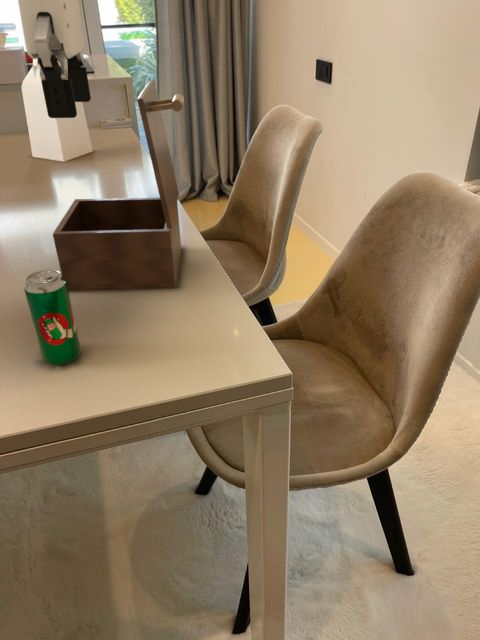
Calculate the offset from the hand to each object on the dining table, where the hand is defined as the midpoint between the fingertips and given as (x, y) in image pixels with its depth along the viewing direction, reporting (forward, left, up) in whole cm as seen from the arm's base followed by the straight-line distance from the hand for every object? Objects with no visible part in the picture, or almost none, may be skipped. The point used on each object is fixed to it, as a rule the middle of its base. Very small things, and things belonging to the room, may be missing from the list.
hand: (71, 108), depth 69 cm
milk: (-28, +93, -30) cm, 101 cm away
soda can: (-4, -11, -30) cm, 32 cm away
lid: (+8, +16, -10) cm, 20 cm away
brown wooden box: (+1, +16, -29) cm, 33 cm away
